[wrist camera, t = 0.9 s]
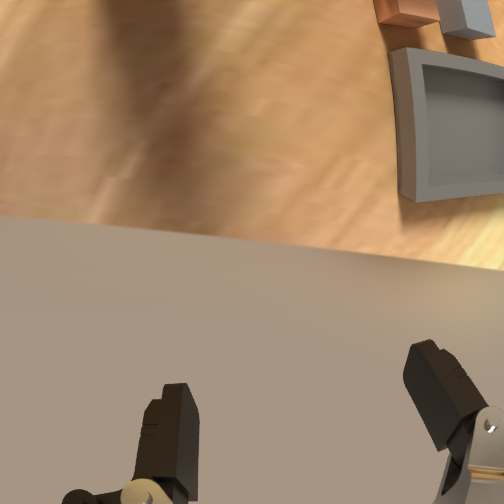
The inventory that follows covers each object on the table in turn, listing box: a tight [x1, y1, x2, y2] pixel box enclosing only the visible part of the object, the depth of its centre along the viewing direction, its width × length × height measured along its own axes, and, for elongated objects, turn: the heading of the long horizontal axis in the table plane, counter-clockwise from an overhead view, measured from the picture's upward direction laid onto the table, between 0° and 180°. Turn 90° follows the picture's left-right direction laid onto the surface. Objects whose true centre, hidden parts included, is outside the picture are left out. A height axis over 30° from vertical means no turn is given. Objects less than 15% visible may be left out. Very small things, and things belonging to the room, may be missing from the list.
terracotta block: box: [373, 0, 440, 28], centre depth 21 cm, size 5×5×5 cm
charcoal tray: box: [388, 47, 504, 203], centre depth 27 cm, size 16×20×4 cm
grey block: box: [436, 0, 496, 40], centre depth 21 cm, size 5×5×5 cm
